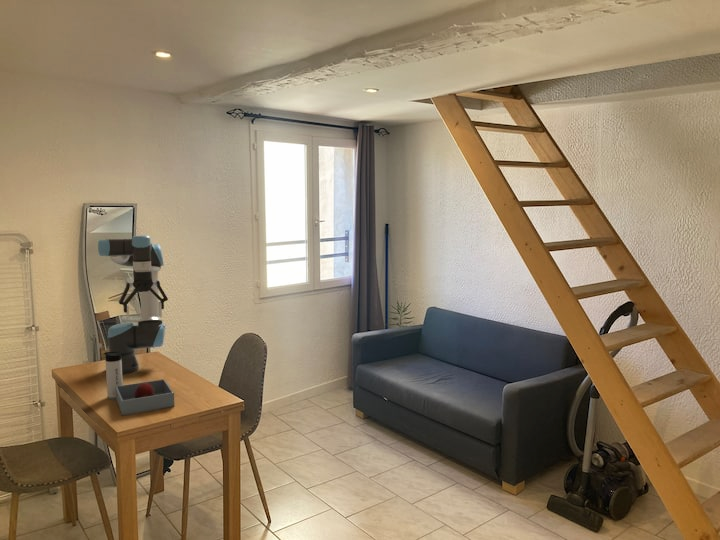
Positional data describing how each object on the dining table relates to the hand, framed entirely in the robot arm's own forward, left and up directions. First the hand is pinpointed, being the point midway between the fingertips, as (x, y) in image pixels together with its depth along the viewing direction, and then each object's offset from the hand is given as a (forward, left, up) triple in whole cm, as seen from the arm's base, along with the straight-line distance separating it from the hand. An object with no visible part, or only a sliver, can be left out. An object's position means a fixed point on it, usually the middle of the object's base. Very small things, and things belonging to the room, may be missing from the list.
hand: (144, 318), depth 245 cm
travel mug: (+4, -14, -33) cm, 36 cm away
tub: (+18, -4, -33) cm, 38 cm away
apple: (+18, -4, -32) cm, 37 cm away
